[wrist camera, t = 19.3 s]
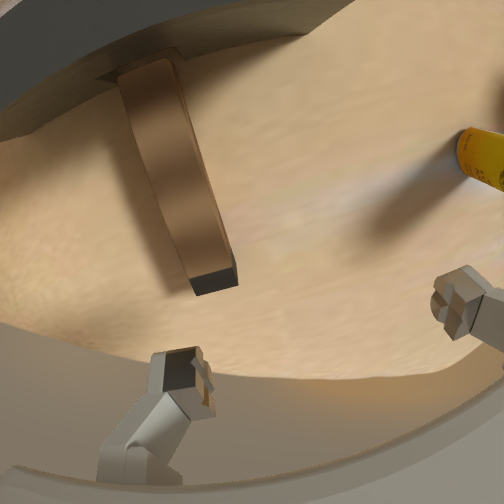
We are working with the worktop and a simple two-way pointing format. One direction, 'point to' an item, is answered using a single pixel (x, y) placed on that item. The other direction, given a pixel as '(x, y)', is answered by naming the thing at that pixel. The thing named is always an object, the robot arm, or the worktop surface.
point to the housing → (122, 44)
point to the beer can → (482, 156)
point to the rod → (178, 174)
